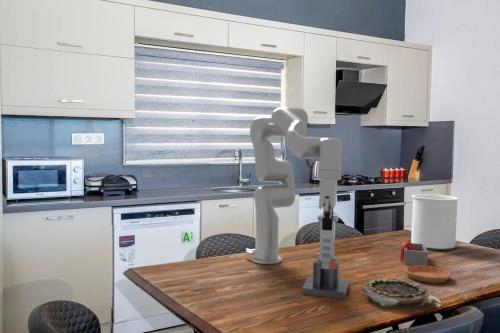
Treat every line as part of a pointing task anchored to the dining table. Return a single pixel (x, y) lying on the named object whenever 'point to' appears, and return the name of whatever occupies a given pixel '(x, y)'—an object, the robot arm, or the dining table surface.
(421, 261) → the bracket rest
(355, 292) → the dining table surface
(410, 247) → the bracket
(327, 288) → the stand
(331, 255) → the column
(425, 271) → the saucer
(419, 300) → the pie
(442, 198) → the bucket
